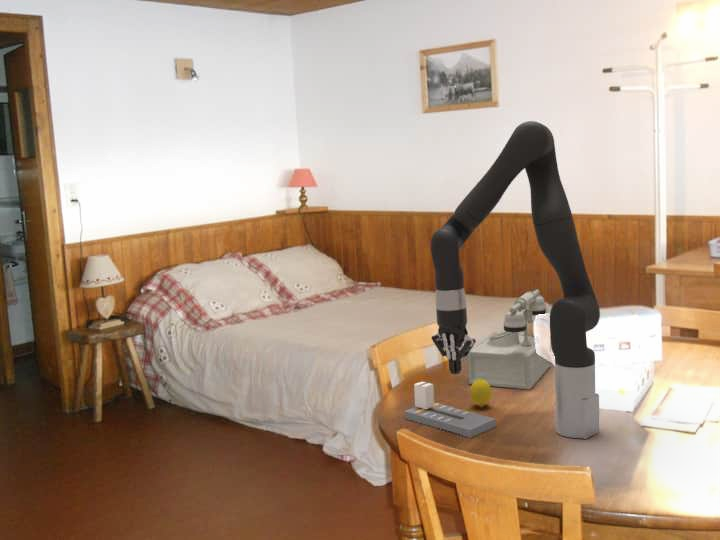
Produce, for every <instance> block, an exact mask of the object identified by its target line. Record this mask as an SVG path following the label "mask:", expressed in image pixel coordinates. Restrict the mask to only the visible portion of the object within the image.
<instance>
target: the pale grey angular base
mask: <svg viewBox="0 0 720 540" xmlns="http://www.w3.org/2000/svg"><path fill="white" fill-rule="evenodd" d="M513 303H514V305H513V306H511V307H510V308H509V311H507V312H505V316H504V321H503V331H500V332H492V333H490V335H488V336H487V337H485V338H484V339H483V340H481V341H480V342H479V343H477V344H476V345H475V346H473V347H472V349H471V350H470V352H469V353H468V355H467V364H468V366H467V367H468V384H469V385H472V384H473V383H474V382H475V381H476V380H478V379H479V378H482V379H483V380H485V381H487V382H488V383H489V385H490V387H498V388H499V387H501V388H511V389H519V390H531V389H532V388H533V387H534V385H536V383H537V382H538V381H539V380H540V379H541V378H542V377H543V376H544V375H545V373H546V372H548V370H549V369H550V368H551V367H550V366H552V365H551V363H552V362H551V363H550V362H549V361H547V360H546V359H544V358H543V357H541V356H539V355H538V354H537V353H536V349H535V342H534V335H535V334H534V335H533V334H528V333H529V332H528V325H530V324H532V322H533V316H539V315H538V314H545V313H548V311H547V307H546V304H545V298H544V296H542V295H541V293H540V290H539V289H535V290H533V291H526V292H525V293H524V294H523V295H521V296H519V297H518V298H516V299H515V300H514V302H513ZM522 332H524V334H521V333H522ZM519 333H520V334H519ZM549 367H550V368H549ZM548 368H549V369H548ZM547 369H548V370H547ZM543 374H544V375H543ZM542 375H543V376H542Z"/></svg>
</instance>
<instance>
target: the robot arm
mask: <svg viewBox="0 0 720 540" xmlns="http://www.w3.org/2000/svg"><path fill="white" fill-rule="evenodd" d="M524 170H525V172H526V176H527V179H528V182H529V183H528V184H529V188H530V189H529V190H530V207H531V208H530V210H531V219H532V224H533V228H534V232H535V236H536V239H537V243H538V246H539V248H540V250H541V253H542V254H543V256H544V257H545V258H546V260H547V261H548V262H549V264H550V265H551V267H552V268H553V269H554V271H555V272H556V274H557V277H558V280H559V282H560V287H561V290H562V294H563V298H561V299H559V300H557V301H555V302H554V304H553V305H552V306H551V309H550V313H549V317H550V325H549V334H550V349H551V351H552V353H553V356H555V360H554V378H555V379H554V381H555V384H554V385H555V391H554V392H555V428H556V429H555V431H556V434H559V435H560V436H562V437H567V438H571V439H572V438H573V439H585V440H586V439H587V440H588V439H589V438H590V437H593V436H594V435H597V434H598V433H600V395H599V393H596V353H595V351H594V350H593V348H590V347H588V344H587V343H588V342H587V332H589V331H592V330H593V329H594V328H596V326H597V325H599V321H600V319H601V312H600V311H601V310H600V305H599V303H598V299H597V297H596V293H595V291H594V289H593V286H592V283H591V280H590V278H589V275H588V273H587V270H586V265H585V262H584V257H583V254H582V250H581V246H580V241H579V238H578V232H577V228H576V225H575V220H574V217H573V214H572V213H573V212H572V210H571V206H570V204H569V200H568V197H567V194H566V191H565V188H564V186H563V183H562V181H561V176H560V172H559V167H558V160H557V154H556V147H555V139H554V134H553V133H552V131H551V129H550V128H548V127H547V126H546V125H544V124H543V123H541V122H538V121H535V120H529V121H524V122H522V123H520V124H518V125H517V126H516V127H515V129H514V130H513V132H512V133H511V136H510V137H509V139H508V140H507V142H506V144H505V146H504V147H503V149H502V150H501V152H500V153H499V155H498V157H496V160H495V161H494V162H493V164H492V165H491V166H490V168H489V169H488V170H487V171H486V173H485V174H484V175H483V176H482V178H481V179H480V180H479V181H478V182H477V183H476V184H475V186H474V187H473V188H472V189H471V190H470V191H469V193H468V194H467V195H466V196H465V197H464V198H463V200H461V202H460V203H459V204H458V206H457V207H456V208H455V210H454V213H453V214H452V215H451V216H450V217H449V218H448V219H447V221H446V222H445V223H444V224H443V225H442V226H441V227H440V228H439V229H437V230H436V231H434V232H433V234H432V236H431V238H430V254H431V260H432V264H433V268H434V281H435V282H434V283H435V310H436V313H435V314H436V324H437V326H438V329H437V333H436V334H434V335H432V336H431V340H432V342H433V343H434V345H435V346H436V348H437V350H438V351H439V353H440V355H441V356H442V357H446V359H447V360H448V370H449V373H450V374H451V375H458V374H461V372H462V361H461V360H462V359H464V358H466V357H468V353H469V352H470V350H471V349H472V348H474V347H475V346H474V345H475V344H476V342H477V341H476V340H477V339H475V338H471V337H470V335H468V334H469V333H468V329H467V323H468V316H467V300H466V299H467V298H466V292H465V284H464V283H465V281H464V279H465V278H464V271H463V268H462V266H461V265H460V264H461V263H460V249H461V248H462V247H463V245H465V243H466V241H467V240H468V239H469V238H470V236H472V233H473V232H474V231H475V230H476V229H477V228H478V227H479V226H480V225H481V224H482V222H484V220H486V219H487V217H488V216H489V215H490V213H492V211H493V210H494V209H495V208H496V206H497V205H498V204H499V202H500V200H501V199H502V197H503V195H504V194H505V192H506V191H507V189H508V188H509V187H510V185H511V184H512V182H513V181H514V180H515V178H516V177H518V176H519V174H520V173H522V171H524Z"/></svg>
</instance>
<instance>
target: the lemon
mask: <svg viewBox="0 0 720 540" xmlns="http://www.w3.org/2000/svg"><path fill="white" fill-rule="evenodd" d="M469 394H470V399H471V401H472V402H473V403H474V404H475V405H477V406H478V407H480V408H483V407H484V406H487V404H488V403H489V402H490V401H491V399H492V389H491V386H490V385H489V383H488V382H487V381H485V380H483V379H482V378H479V379H478V380H476V381H475V382H474V383H473V384H471V387H470V392H469Z"/></svg>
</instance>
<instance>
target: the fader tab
mask: <svg viewBox="0 0 720 540" xmlns="http://www.w3.org/2000/svg"><path fill="white" fill-rule="evenodd" d="M413 386H414V389H413V390H414V407H420V408H423V409H429V408H431V407H434V402H435V395H434V393H435V391H434V384H433V383H430V382H429V381H420V382H417V383H414V384H413Z"/></svg>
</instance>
